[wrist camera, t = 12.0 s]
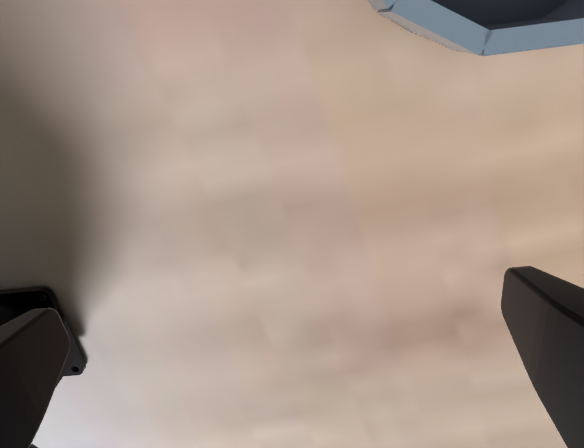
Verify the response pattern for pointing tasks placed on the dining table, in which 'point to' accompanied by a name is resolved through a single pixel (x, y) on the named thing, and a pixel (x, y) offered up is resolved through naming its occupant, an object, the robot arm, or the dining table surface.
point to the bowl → (489, 23)
